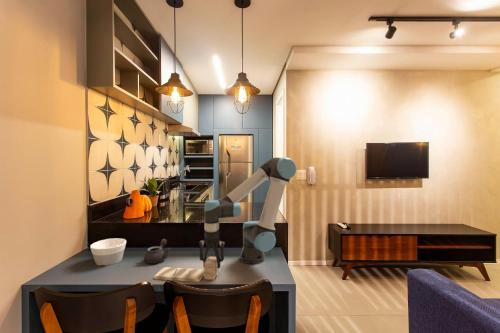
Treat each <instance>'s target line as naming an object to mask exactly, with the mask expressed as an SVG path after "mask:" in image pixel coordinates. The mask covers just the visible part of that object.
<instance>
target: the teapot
mask: <svg viewBox="0 0 500 333" xmlns="http://www.w3.org/2000/svg"><path fill="white" fill-rule="evenodd" d="M159 242H160V244H159V245H160V246H158V245H156V246H151V247H148V248H147V251H146V252H145V254H144V257H143V262H144V263H147V264H158V263H161V262H163V261H164V260H166V259H167V258H168V255H169V254H168V253H169V251H171V248H170V247H168V248H165V250H163V248H164V247H165V246H166V244H167V243H168V240H167V239H165V238H162V239H161V240H160V241H159Z"/></svg>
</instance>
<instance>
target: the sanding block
mask: <svg viewBox="0 0 500 333" xmlns="http://www.w3.org/2000/svg"><path fill="white" fill-rule="evenodd" d="M216 262H217V259H216V256H209V257H207V261H206V262H205V263H204V267H203V269H204V275H203V277H204V278H203V279H204V280H205V281H215V280H216V279H217V277H218V275H216Z"/></svg>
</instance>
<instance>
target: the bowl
mask: <svg viewBox="0 0 500 333" xmlns="http://www.w3.org/2000/svg"><path fill="white" fill-rule="evenodd" d="M126 245H127V240H126V239H125V238H115V237H114V238H106V239H101V240H98V241H96V242H93V243H92V244H90V250H91V254H92V256H93V259H94V262H95V265H97V266H101V265H105V266H111V265H114V264H118V263H120V262H121V261H122V260H123V257H124V252H125V248H126Z"/></svg>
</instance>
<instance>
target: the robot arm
mask: <svg viewBox="0 0 500 333" xmlns="http://www.w3.org/2000/svg"><path fill="white" fill-rule="evenodd" d="M296 172H297V165H296V162H295V161H294V160H292V159H291V158H290V157H284V156H282V157H272V158H270V159H268V160H266V161H265V162H264V163H263V164H261V165H260V166H259V167H257V171H255V172H254V173H253V174H251V176H249V177H248V178H246V179H245V180H244V181H242V183H240V184H239V185H238V186H236V187H235V188H233V190H232V191H230V192H229V193H228V194H227V195H225V196H224V197H223V198H219V199H217V200H216V199H213V200H212V199H210V200H206V201H205V203H204V209H203V211H204V240H200V241H199V242H198V246H199V261H202V264H203V268H204V263H205V262H206V261H207V260H208V255H209V252H210V249H213V251H214V253H215V257H216V259H217V262H216V275H217V276H218V275H219V273H220V268H221V263H222V262H223V261H224V259H225V252H224V251H225V249H224V248H225V243H226V242H225V241H221V240H220V230H219V229H220V219H228V218H237V217H241V214H242V206H241V204H240V203H239V202H240V201H241V200H243V199H244V198H246V197H247V196H248V195H249V194H250V193H251V192H253V191H254V190H255V189H256V188H258V187H259V186H260V185H262V184H263V183H264V182H265V181H269V180H270V184H269V188H268V191H267V193H266V197H265V201H264V204H263V207H262V210H261V215H260V218H259V220H249V221H244V222H243V226H242V244H243V245H242V249H241V252H240V257H239V259H240V261H241V262H243V263H247V264H259V263H262V262H264V261H265V259H266V257H265V256H266V255H265V252H269V251H271V250H272V249H273V248H274V247H275V245H276V242H277V238H276V235H275V232H276V228H275V223H276V221H277V220H276V219H277V217H278V216H277V215H278V213H279V208H280V205H281V202H282V199H283V195H284V192H285V189H286V185H288V184H289V183H290V180H291V179H292V178H293V177H294V176H295V175H296ZM205 245H206V247H204V246H205ZM218 245H219V246H218ZM219 247H220V249H219ZM204 248H205V249H204ZM204 250H205V251H204ZM219 250H220V251H219Z"/></svg>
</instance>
